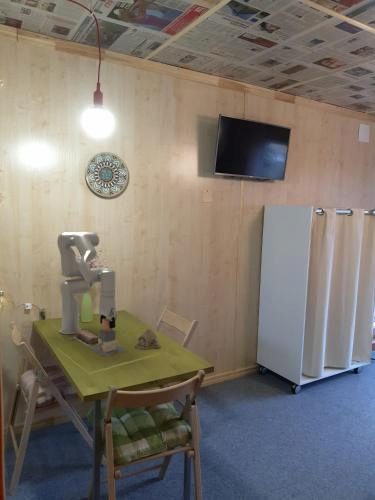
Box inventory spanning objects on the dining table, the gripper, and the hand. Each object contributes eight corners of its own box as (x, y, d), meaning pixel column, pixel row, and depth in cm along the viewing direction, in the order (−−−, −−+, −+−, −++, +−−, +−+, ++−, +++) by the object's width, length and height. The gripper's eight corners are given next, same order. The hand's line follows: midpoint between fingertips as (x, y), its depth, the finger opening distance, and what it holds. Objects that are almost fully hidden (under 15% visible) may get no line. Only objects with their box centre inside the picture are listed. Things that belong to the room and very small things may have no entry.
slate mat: (88, 348, 201) (88, 347, 201) (111, 343, 210) (111, 341, 210) (102, 358, 189) (102, 356, 189) (126, 352, 198) (126, 350, 198)
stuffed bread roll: (146, 341, 215) (146, 324, 214) (162, 345, 210) (163, 327, 209) (131, 349, 203) (131, 331, 202) (148, 353, 198) (148, 335, 197)
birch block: (98, 348, 200) (98, 339, 199) (110, 345, 204) (110, 336, 204) (104, 352, 194) (104, 342, 194) (116, 349, 199) (116, 340, 198)
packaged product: (72, 331, 215) (88, 328, 221) (72, 339, 215) (88, 335, 222) (87, 340, 202) (103, 336, 208) (87, 348, 202) (103, 344, 209)
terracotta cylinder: (100, 329, 199) (100, 318, 198) (109, 328, 202) (109, 317, 201) (105, 332, 194) (105, 321, 194) (114, 330, 198) (114, 319, 197)
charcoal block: (99, 339, 199) (99, 329, 198) (109, 336, 203) (109, 327, 202) (105, 342, 195) (105, 333, 194) (115, 340, 198) (115, 330, 198)
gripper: (93, 291, 200) (93, 322, 202) (109, 297, 187) (109, 331, 189) (106, 289, 205) (106, 320, 207) (122, 295, 192) (122, 328, 194)
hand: (107, 325), depth 198 cm, fingers open, 9 cm apart
